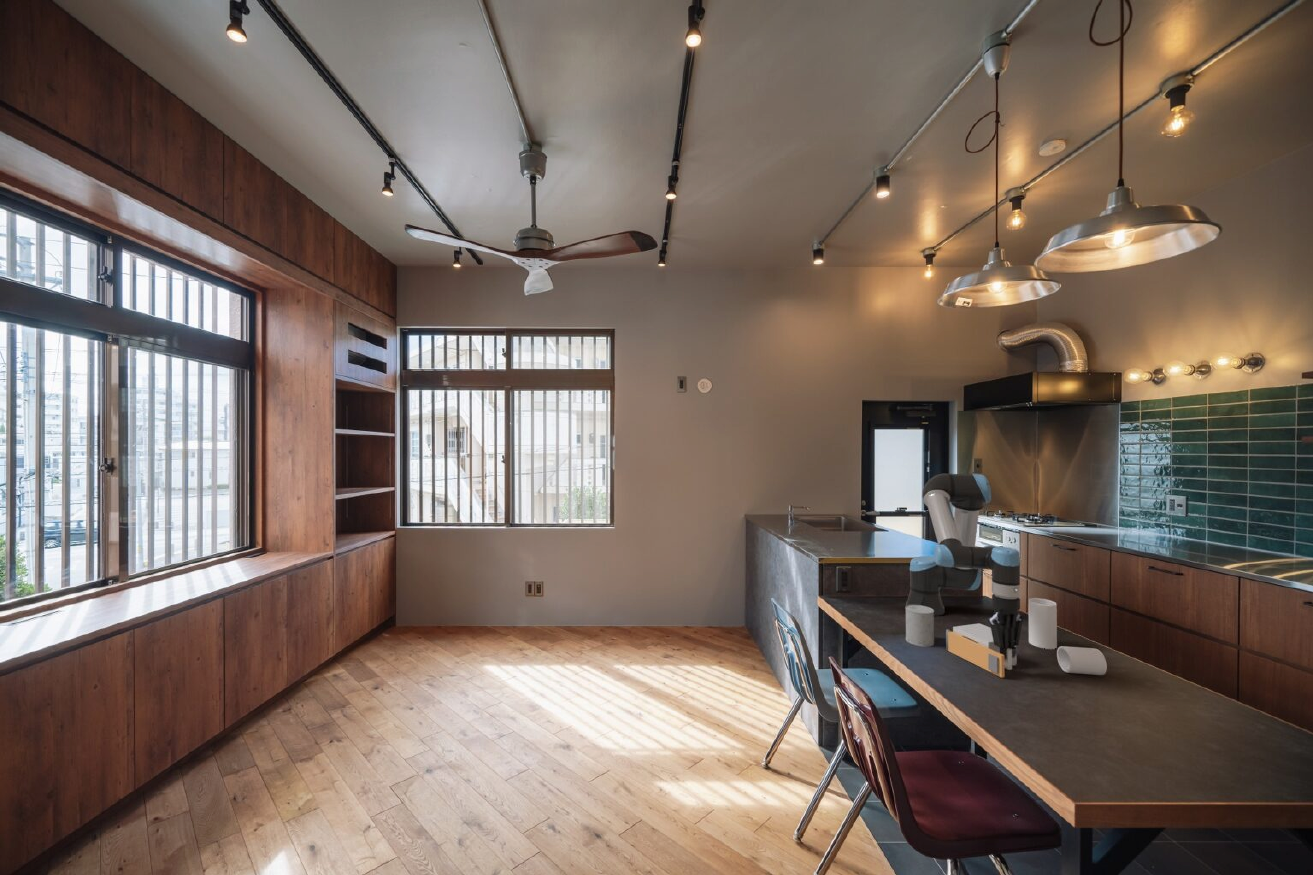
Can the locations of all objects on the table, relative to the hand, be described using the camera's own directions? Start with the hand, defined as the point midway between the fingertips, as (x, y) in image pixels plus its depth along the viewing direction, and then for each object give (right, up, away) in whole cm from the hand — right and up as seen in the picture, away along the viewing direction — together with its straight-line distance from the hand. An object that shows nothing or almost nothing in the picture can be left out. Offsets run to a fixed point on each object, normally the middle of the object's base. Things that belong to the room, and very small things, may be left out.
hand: (1006, 667), depth 161 cm
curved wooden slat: (-7, -2, +7) cm, 10 cm away
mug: (+25, -2, +2) cm, 25 cm away
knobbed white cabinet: (0, -2, +11) cm, 11 cm away
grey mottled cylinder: (-15, -2, +25) cm, 29 cm away
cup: (+29, -2, +22) cm, 36 cm away
